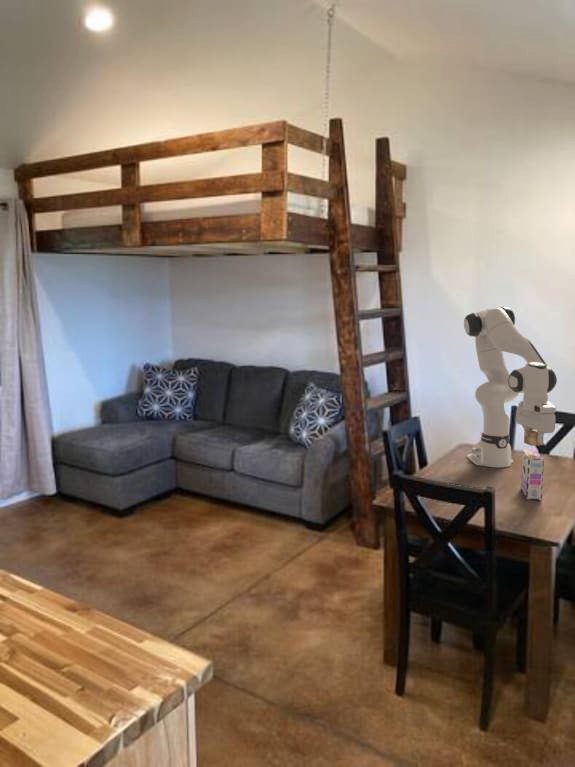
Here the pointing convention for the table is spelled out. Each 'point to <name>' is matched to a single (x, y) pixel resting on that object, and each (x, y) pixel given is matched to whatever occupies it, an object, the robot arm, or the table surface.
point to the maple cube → (531, 437)
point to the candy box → (532, 474)
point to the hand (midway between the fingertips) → (533, 439)
